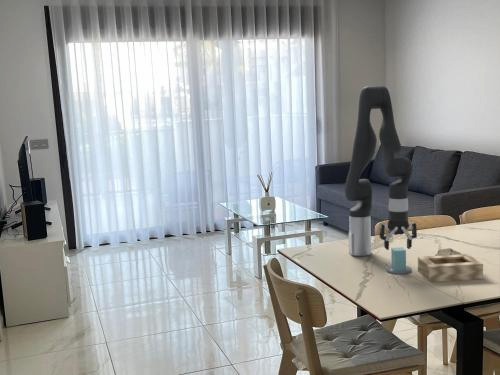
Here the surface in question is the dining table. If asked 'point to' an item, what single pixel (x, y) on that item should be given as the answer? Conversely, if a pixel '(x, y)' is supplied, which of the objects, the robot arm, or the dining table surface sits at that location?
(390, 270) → the coaster
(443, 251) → the rock
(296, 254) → the dining table surface
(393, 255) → the block
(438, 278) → the box
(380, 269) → the dining table surface
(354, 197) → the robot arm
